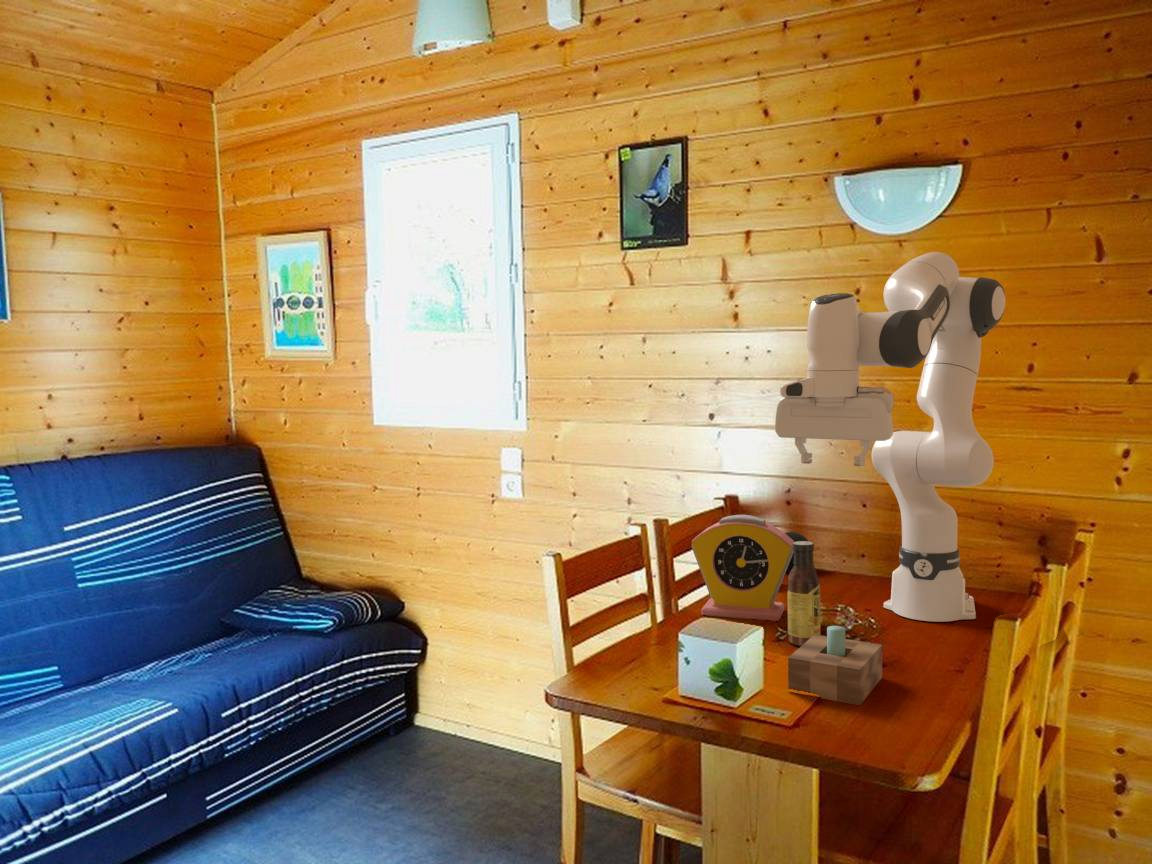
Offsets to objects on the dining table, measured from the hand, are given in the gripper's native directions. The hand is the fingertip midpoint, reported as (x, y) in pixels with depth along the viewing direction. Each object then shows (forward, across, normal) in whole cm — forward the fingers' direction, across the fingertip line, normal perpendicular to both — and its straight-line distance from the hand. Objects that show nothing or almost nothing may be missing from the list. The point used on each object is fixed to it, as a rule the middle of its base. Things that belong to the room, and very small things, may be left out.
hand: (832, 464), depth 164 cm
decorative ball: (+37, +30, -64) cm, 80 cm away
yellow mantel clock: (+37, +27, -24) cm, 52 cm away
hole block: (+37, -3, +8) cm, 38 cm away
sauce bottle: (+37, +9, -11) cm, 40 cm away
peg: (+37, -3, +8) cm, 38 cm away
